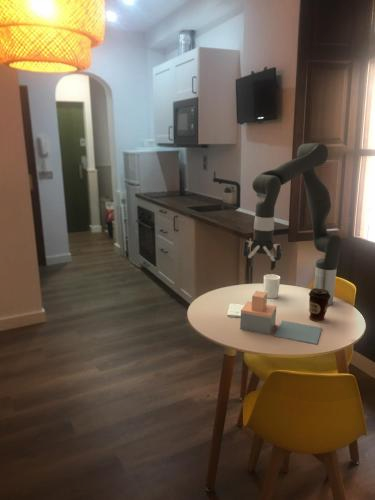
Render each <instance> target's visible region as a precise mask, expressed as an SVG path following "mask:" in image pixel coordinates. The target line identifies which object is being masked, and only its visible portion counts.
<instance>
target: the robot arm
mask: <svg viewBox="0 0 375 500" xmlns="http://www.w3.org/2000/svg"><path fill="white" fill-rule="evenodd" d="M296 156H297V158H295V159H290V160H288V161H286V162H283V163H281V164H280V165H278V166H276V167H275V168H273V169H270V170H267V171H264V172H261V173H258V174H257V175H256V176H255V177H254V179H253V180H252V183H251V184H252V185H251V186H252V190H253V191H255V193H257V194H260V195H261V194H263V195H265V197H264V199H260V200H258V201H257V202H255V214H254V215H255V216H254V221H253V222H254V223H253V238H252V239H253V240H252V241H250V240H249V239H248V240H246V241H245V242H244V247H243V248H244V249H243V256H244V257H247V258H248V259H247V266H249V268H252V267H253V266H254V265H253V262H254V257H253V256H255V254H256V253H257V254H260V255H261V254H262V255H267V256H268V258H270V260H271V261H270V270H271V271H274V270H275V268H276V265H277V264H276V263H277V261H280V260H281V258H282V244H281V243H276V244H275V243H274V229H275V206H276V203H277V201H278V197H279V195H280V191H281V188H282V186H283V185H285V184H287V183H288V182H289V181H291V180H293V179H294V178H296V177H298V176H299V175H302V179H303V183H304V187H305V191H306V193H305V194H306V197H307V198H306V199H307V204H308V209H309V214H310V219H311V223H312V225H311V226H312V237H313V238H312V239H313V245H314V247H315V249H316V251H319V252H321V253H324V254H325V255H324V258H318V259H317V260H316V262H315V270H314V271H315V272H314V281H313V282H314V283H313V288H318V289H324V290H327V291H328V292H329V294H330V299H329V301H328V306H331V305H334V304H333V303H334V296H335V289H336V288H335V286H336V277H337V270H338V269H337V268H338V264H339V262H340V258H341V252H342V244H343V241H342V238H341V236H340V235H338V234H334V233H331V232H328V230H327V225H326V224H327V223H326V221H327V218H328V216H329V214H330V212H331V207H332V202H331V196H330V192H329V190H328V188H327V186H326V185H325V184H324V183H323V182H322V180H321V178H319V176H318V175H317V173H316V170H315V168H317V167H320V166H323V165H324V164H325V163H326V162H327V160H328V157H329V149H328V147H327V145H325V144H324V143H321V142H317V143H316V142H314V143H311V142H310V143H303V144H301V145H299V147H298V148H297V155H296ZM251 246H252V248H253V250H252V251H251V252H249V251H250V250H249V249H250V247H251ZM272 249H275V251H276V255H275V254H274V252H273V250H272Z"/></svg>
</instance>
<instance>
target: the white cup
mask: <svg viewBox="0 0 375 500" xmlns="http://www.w3.org/2000/svg"><path fill="white" fill-rule="evenodd" d="M280 284H281V276H280V275H277V274H273V273H270V274H269V273H268V274H264V275H263V292H266V293H267V299H271V300H272V299H277V298H278V297H279V292H280V286H281V285H280Z"/></svg>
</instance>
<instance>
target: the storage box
mask: <svg viewBox="0 0 375 500" xmlns="http://www.w3.org/2000/svg"><path fill="white" fill-rule="evenodd" d="M276 316H277V309H276V310H275V312H274V314H273V315H272V317H271V318H266V317H261V316H256V315H250V314H245V313H241V318H240V323H239V329H240V330H244V331H249V332H254V333H259V334H264V335H269V336H270V335H271V333H272V331H273V329H274V327H275V326H276V319H277V318H276Z"/></svg>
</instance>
